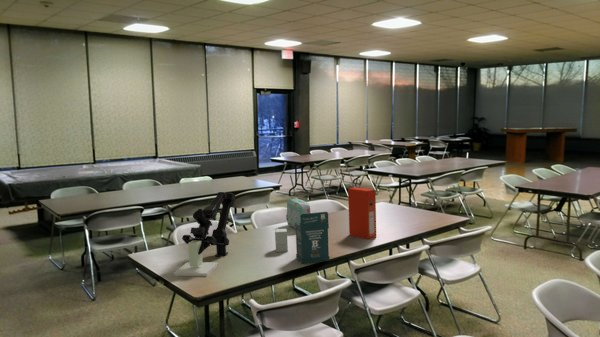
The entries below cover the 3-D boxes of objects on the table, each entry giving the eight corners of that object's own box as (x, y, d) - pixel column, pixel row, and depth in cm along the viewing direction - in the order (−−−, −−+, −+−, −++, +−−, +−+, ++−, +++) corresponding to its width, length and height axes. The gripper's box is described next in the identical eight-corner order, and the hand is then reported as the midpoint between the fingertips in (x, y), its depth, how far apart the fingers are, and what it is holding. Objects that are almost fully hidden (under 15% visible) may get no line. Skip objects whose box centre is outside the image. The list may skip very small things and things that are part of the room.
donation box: (302, 264, 248) (300, 214, 245) (294, 256, 263) (292, 208, 260) (329, 260, 252) (328, 211, 249) (320, 252, 267) (318, 206, 264)
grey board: (187, 264, 253) (186, 262, 253) (217, 265, 251) (217, 262, 251) (173, 275, 236) (173, 273, 235) (206, 276, 233) (206, 273, 233)
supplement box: (287, 248, 279) (287, 228, 277) (287, 251, 272) (287, 231, 270) (275, 248, 279) (275, 228, 277) (275, 252, 271) (274, 231, 270)
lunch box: (284, 224, 342) (283, 197, 339) (297, 223, 346) (296, 195, 344) (299, 232, 318) (298, 202, 315) (312, 230, 322) (311, 200, 320)
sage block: (194, 263, 246) (193, 240, 245) (202, 264, 245) (201, 240, 243) (189, 266, 241) (188, 242, 240) (197, 267, 240) (196, 243, 238)
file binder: (368, 239, 293) (367, 191, 289) (349, 234, 306) (348, 188, 302) (376, 237, 298) (375, 189, 294) (357, 232, 311) (356, 187, 307)
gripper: (182, 220, 247) (172, 245, 238) (212, 221, 241) (203, 247, 232) (191, 230, 255) (181, 255, 246) (220, 232, 250) (212, 257, 240)
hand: (194, 253), depth 241 cm, fingers closed on sage block, 5 cm apart
